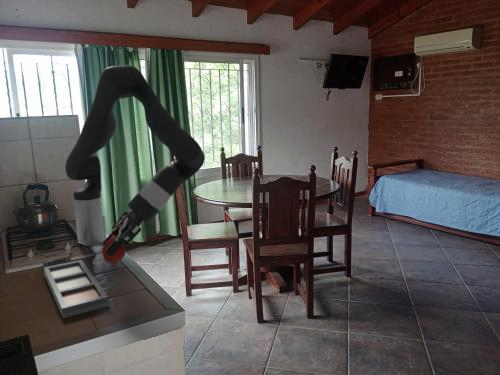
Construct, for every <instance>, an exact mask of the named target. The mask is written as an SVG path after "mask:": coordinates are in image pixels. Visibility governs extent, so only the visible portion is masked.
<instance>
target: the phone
mask: <svg viewBox="0 0 500 375" xmlns="http://www.w3.org/2000/svg"><path fill="white" fill-rule="evenodd" d="M69 262H71V257H67V258H63V259H58V260H55V261H52V262H47V263H44V262H43V264H42V267H41V269H42V271H43V272H44V267H49V266H54V265H59V264H64V263H69Z"/></svg>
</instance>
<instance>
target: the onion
mask: <svg viewBox="0 0 500 375" xmlns="http://www.w3.org/2000/svg"><path fill="white" fill-rule="evenodd" d="M115 239H116V236H115V235H113V236H112V237H111V238H110V239H109V240H108V241H107V242H106V243H105V244H104V246H103V245H102V246H103V247H102V249H101V250H102V251H101V252H102V257H103V259H104V260H105V261H106V262H109V264H112V265H117V264H119V263H120V261H122V260H123V258H124V257H125V255H126V251H127V249H126V246H121V247H120V248H119V249H118V251H117V252H116V253H115V254H114V255H113V256H109V255H108V254H107V253H106V252H105V251H106V249H107V248H108V247H109V246H110V245H111V244H112V242H113V241H114V240H115Z"/></svg>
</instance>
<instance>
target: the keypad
mask: <svg viewBox="0 0 500 375" xmlns="http://www.w3.org/2000/svg"><path fill="white" fill-rule="evenodd" d="M43 273H44V274H43V275H44V278H45V280H46V282H47V285H48V287H49V290H50V291H51V293H52V294H51V295H52V296H53V298H54V301H55V304H56V306H57V308H58V310H59V312H60V314H61V318H62V319H66V318H70V317H73V316H78V315H81V314H85V313H89V312H91V311H92V312H93V311H97V310H100V309H103V308H108V307H110V302H109V296H108V294H107V292H105V290H104V289H103V287H102V286H101V284H100V283H99V282H98V280H97V279H96V277H95V276H94V275H93V273H92V272H91V271H90V269H89V268H88V266H87V265H86V263H85V262H84V261H83V259H80V260H75V261H70V262H69V263H64V264H59V265H54V266H49V267H44V271H43ZM92 288H94V290H95V291H96V293H97V294H98V296H99V297H97V298H93V299H89V300H85V301H81V302H77V303H73V304H69V305H66V303H65V301H64V299H63V297H62V296H63V295H67V294H72V293H76V292H80V291H84V290H88V289H92Z"/></svg>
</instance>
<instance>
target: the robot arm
mask: <svg viewBox="0 0 500 375" xmlns="http://www.w3.org/2000/svg"><path fill="white" fill-rule="evenodd" d="M133 97H134V98H135V99H136V100H137V101H138V102H140V104H142V106H143V109H144V116H145V121H146V125H147V127H148V128H149V130H150V131H151V132H152V133H153V135H154V136H155V137H156V138H157V139H158V140H159V141H160V142H161V143H162V144H163V145H164V146H166V147H167V149H168V150H169V151H170V153H171V154H172V155H173V156H174V157H175V158H176V160H175V161H174V162H173V163H171V164H170V165H169V166H168V165H164V166H161V168H160V169H159V170H158V171H156V174H154V175H153V177H152V178H151V179H150V180H149V181H148V182H147V183H145V184H144V185H143V187H142V188H141V189H140V190H139V191H138V192H137V193H136V195H135V196H134V197H133V198H132V199H131V200H130V201H128V203H127V207H128V209H130V210H131V211H130V212H127V211H123V213H122V214H121V216H120V217H119V218H118V219H117V221H116V222H115V223H114V225H112V228H111V232H110V234H109V235H108V236H107V232H106V231H107V230H106V219H105V218H106V216H105V215H103V208H102V204H103V203H102V195H101V192H102V167H101V160H100V158H99V156H98V155H97V154H96V153H98V152H99V151H100V150H102V149H103V148H105V146H106V145H108V144H109V143H110V141H111V139H112V137H113V135H114V133H115V131H116V128H117V122H116V118H115V116H114V113H113V109H114V106H115V104H116V103H117V101H119V100H120V99H126V98H133ZM205 160H206V159H205V153H204V151H203V149H202V147H201V146H200V144H199V143H198V141H196V139H195V138H194V137H193V136H192V135H191V134H189V133H188V131H186V130H185V129H184V128H183V127H182V126H181V125H180V123H178V121H176V119H175V118H174V117H173V116H172V115H171V113H170V112H168V111H167V109H166V108H165V106H164V105H163V104H162V102H161V101H160V99H159V98H158V97H157V95H156V94H155V92H154V90H153V89H152V88H151V86H150V84H149V83H148V80H146V78H145V76H144V75H143V74H142V72H141V71H140V70H139V69H138V68H137V67H136V66H134V65H130V64H126V65H125V64H124V65H111V66H108V67H106V68H104V70H102V71H101V74H100V76H99V78H98V83H97V87H96V91H95V95H94V98H93V102H92V105H91V107H90V110H89V113H88V115H87V117H86V119H85V121H84V123H83V125H82V129H81V131H80V134H79V136H78V139H77V140H76V143H75V145H74V146H73V148H72V149H71V152H70V153H69V155H68V157H67V159H66V162H65V174H66V176H67V178H68V179H70V180H72V181H85V180H86V181H85V183H84V184H82V185H81V186H80V187H78V188H77V189H75V190H74V191H73V203H74V214H75V224H76V225H75V226H76V235H77V237H76V238H77V244H78V243H79V244H83V245H87V246H86V247H93V246H99V245H101V244H102V246H104V244H105V243H106V242H107V241H108V240H109V239H110V238H111V237H112V236H113V235H115V236H116V239H115V240H114V241H113V242H112V244H111V245H110V246H109V247H108V248H107V249H106V251H105V252H106V253H107V254H108V255H109V256H113V255H114V254H115V253H116V252H117V251H118V249H119V248H120V247H121V246H125V247H127V246H128V245H129V244H130V243H131V242H132V241H133V240H134V238H136V237H137V235H139V233H141V231H142V228H141V227H140V226H141V224H142V223H143V221H145V222H146V223H147V224H148V223H151V222H152V221H153V220H154V218H155V217H156V216H157V215H158V214H159V213H160V211H162V209H163V208H164V207H165V206H166V205H167V203H168V202H169V200H170V199H171V198H172V196H173V195H174V194H175V193H176V192H177V191H178V189H179V188H180V187H181V185H183V183H186V181H188V180H190V178H191V177H193V176H194V175H195V174H197V173H198V172H199V170H200V169H201V168H202V167H203V165H204V163H205Z"/></svg>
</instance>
